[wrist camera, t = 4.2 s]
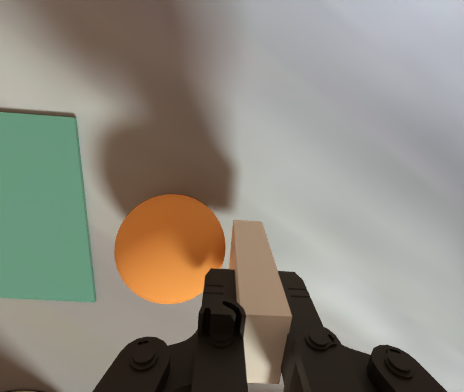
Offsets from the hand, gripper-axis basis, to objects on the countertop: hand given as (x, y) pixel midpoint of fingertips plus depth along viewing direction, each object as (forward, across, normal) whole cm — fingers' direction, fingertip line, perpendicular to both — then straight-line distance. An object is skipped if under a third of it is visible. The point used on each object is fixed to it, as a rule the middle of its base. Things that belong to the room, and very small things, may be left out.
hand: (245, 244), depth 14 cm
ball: (0, +4, 0) cm, 4 cm away
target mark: (+3, +16, 0) cm, 16 cm away
